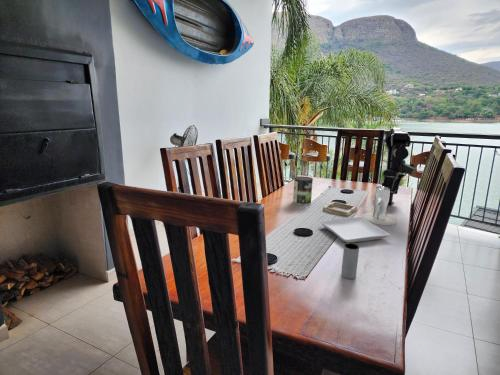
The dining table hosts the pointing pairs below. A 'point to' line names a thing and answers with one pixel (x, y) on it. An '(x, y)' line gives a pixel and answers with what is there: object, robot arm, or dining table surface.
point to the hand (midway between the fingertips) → (393, 188)
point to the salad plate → (354, 229)
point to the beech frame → (344, 213)
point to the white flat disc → (388, 221)
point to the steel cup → (380, 202)
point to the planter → (350, 260)
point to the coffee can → (302, 190)
